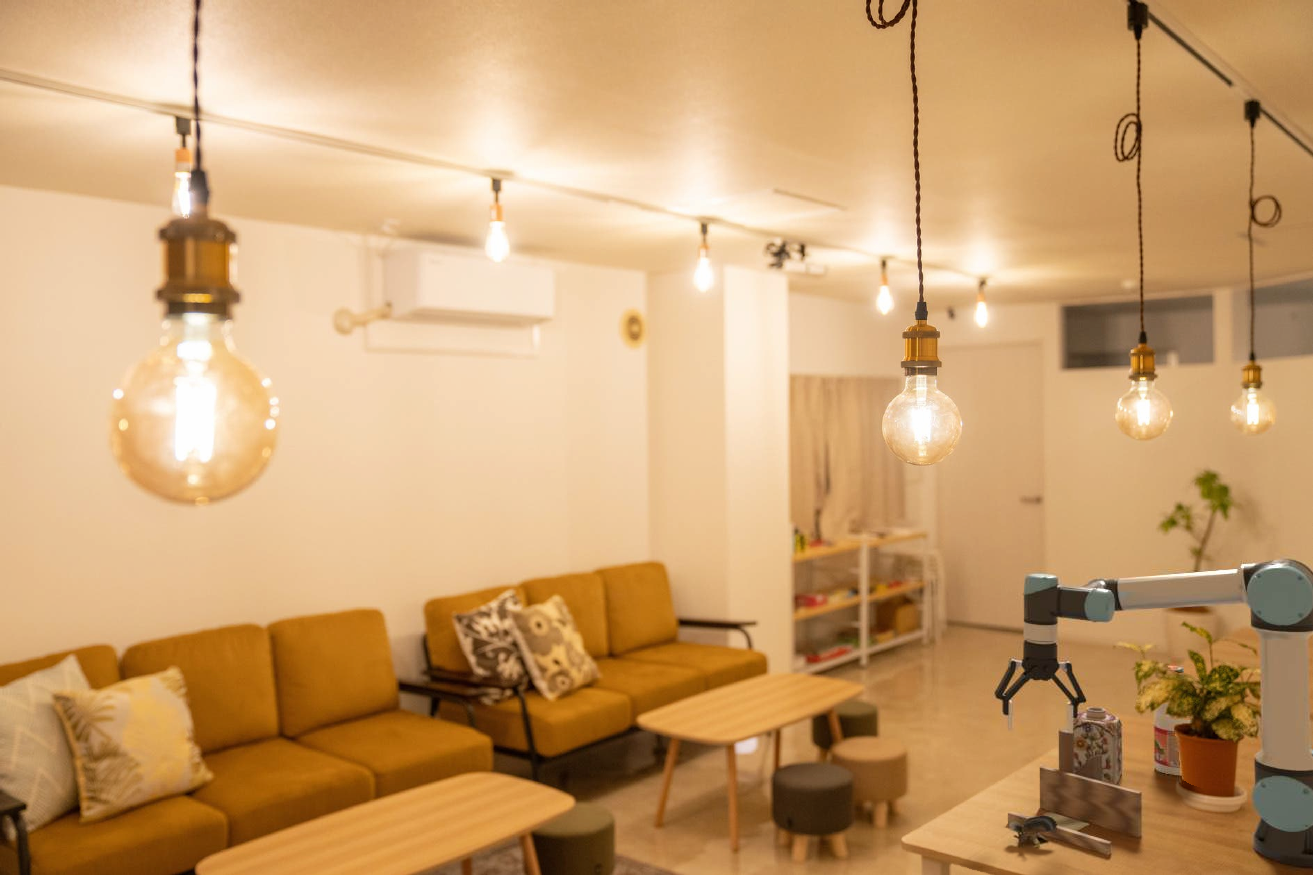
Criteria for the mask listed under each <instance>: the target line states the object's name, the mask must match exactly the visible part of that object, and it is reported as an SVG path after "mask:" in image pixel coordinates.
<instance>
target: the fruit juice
mask: <svg viewBox="0 0 1313 875" xmlns="http://www.w3.org/2000/svg"><path fill="white" fill-rule="evenodd" d="M1167 666H1168V667H1170V669H1171V670H1173V671H1175V672H1177V673H1179V674H1183V675H1184V668H1183V667H1181V666H1176V665H1167ZM1166 708H1167V705H1166V704H1163V705H1162V706H1160V707H1159V708H1158V709H1157V708H1156V712H1154V718H1153V720H1154V721H1153V728H1154V729H1153V734H1154V735H1153V736H1154V737H1153V738H1154V740H1153V742H1154V743H1153V744H1154V745H1153V747H1154V748H1153V749H1154V750H1153V751H1154V752H1153V755H1154V756H1153V757H1154V759H1153V762H1154V763H1153V764H1154V769H1155V771H1157V772H1159V773H1161V772H1162V773H1161V774H1163V773H1165V774H1164V775H1167V774H1173V775H1180V761H1179V745H1178V740H1177V737H1176V736H1175V732H1174V725H1175V724H1182V723H1190V720H1183V719H1177V720H1174V719H1172V718H1170V717H1167V716H1166V714H1165V713H1166Z"/></svg>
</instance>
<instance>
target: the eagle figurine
mask: <svg viewBox="0 0 1313 875" xmlns="http://www.w3.org/2000/svg"><path fill="white" fill-rule="evenodd" d="M1031 817H1032V818H1028V819H1027V821H1026V823H1025V824H1024V826H1021V825H1020V824H1019V823H1018V822H1012V823H1010V824H1009V823H1008V824H1009V825H1008V827H1009V829H1010V830H1011V831H1012V832H1016V833H1017V834H1015V835H1013V838H1016V839H1017V840H1018V844H1017V847H1019V848H1020V847H1021V846H1023V845H1024V843H1025V840H1026V839H1027V840H1029V841H1030V842H1032V843H1034V844H1035V845H1036V846H1037V847H1038V848H1039V849H1040V848H1041V842H1040V841H1039V840H1038V838H1039V839H1043V840H1045V841H1047V842H1049V841H1050V840H1049V839H1048V838H1045V837H1044V836H1042V835H1043V834H1040V833H1039V832H1050V831H1054V830H1055V828H1057V824H1056V821H1054V819H1052V817H1048V816H1044V814H1041V815H1036V816H1031Z"/></svg>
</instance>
